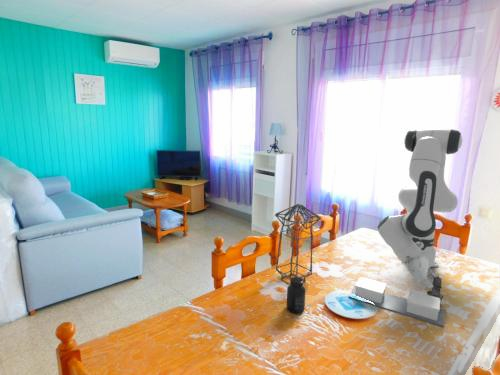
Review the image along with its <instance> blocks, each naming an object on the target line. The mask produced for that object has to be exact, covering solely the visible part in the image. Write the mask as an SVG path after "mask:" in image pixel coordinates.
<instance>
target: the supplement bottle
mask: <svg viewBox="0 0 500 375" xmlns="http://www.w3.org/2000/svg"><path fill="white" fill-rule="evenodd" d="M299 277H300V276H299ZM299 277H296V276H293V277H291V279H290V278H289V279H290V281H289V284H288V286H287V289H286V310H287V311H288V312H289V313H290V314H293V315H294V314H295V315H298V314H299V315H300V314H302V313H303V312H305V310H306V308H305V307H306V291H307V290H306V287H305V285H304V282H303V281H304V280H303V279H304V278H303V277H301V278H299ZM302 278H303V279H302Z"/></svg>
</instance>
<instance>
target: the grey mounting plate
mask: <svg viewBox="0 0 500 375" xmlns="http://www.w3.org/2000/svg"><path fill="white" fill-rule="evenodd" d="M352 288H353V289H352V290H351V292H350V293H352V294H355V295H356V296H359V297H361V298H364V299H366V300H369V301H371V302H373V303H374V304H375V305H376V306H375V307H378V308H381V309H384V310H388V311H389V312H393V313H396V314H400V315H402V316H406V317H410V318H413V319H416V320H419V321H422V322H426V323H430V324H432V325H435V326H438V327H442V328H444V318H445V316H444V315H445V309H443V308H441V306H440V303H441V302H440V298H437V297H433V296H430V295H427V293H426V294H425V293H423V292H418V291H414V290H412V289H411V290H409V293H408V296H407V298H406V297H402V296H400V295H399V296H398V295H395V294H391V293H388V292H386V288H387V282H381V281H377V280H375V279H370V278H366V277H363V276H360V277H359V278H358V280H357V282H356V283H355V286H354V287H352Z"/></svg>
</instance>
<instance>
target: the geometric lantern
mask: <svg viewBox="0 0 500 375" xmlns="http://www.w3.org/2000/svg"><path fill="white" fill-rule="evenodd" d="M295 214H296V218H295V221H294V220H291V219H292V218H293V217H294V215H295ZM299 214H300V217H301V218H303V220H300V222H298V221H299ZM311 214H312V215H311ZM287 216H288V218H287ZM274 217H276V219H277V220H278V221H279V222H280V223H281V225H282V226H281V229H280V232H279V240H278V249H277V257H276V265H275V271H277V272H278V274H279V275H280V276H281V277H280V280H281V281H282V282H284V283H285V284H287V285H290V282H287V281H286V280H284V279H287V280H290V279H291V278H292V276H294V277H299V278H302V279H303V283H305V282H306V278H307V277H310V276H311V275H312V274H313V241H314V234H313V226H314V225H315V224H317V223H318V222H319V221H321V220H322V219H323V218H322V217H321V216H320V215H319V214H316V213H315V212H314V211H312V210H311V209H309V208H308V207H306V206H304V204H300V203H296V204H295V205H292V206H291V207H288V208H286V209H283V210H281V211H278V212H276V213H275V214H274ZM305 217H306V218H305ZM315 218H316V219H315ZM308 220H309V221H308ZM288 222H289V224H288ZM285 223H286V224H285ZM296 224H299V225H301V226H300V227H299V228H296V227H295V225H296ZM308 225H309V226H308ZM291 226H292V227H293V228H291ZM284 227H287V228H288V229H286V230H284ZM302 227H303V229H302ZM308 229H309V230H310V231H309V232H308V231H305V230H308ZM292 231H294V232H292ZM296 231H298V232H297V236H296ZM285 232H290V234H291V236H289V235H288V234H285ZM302 232H304V233H306V234H309V236H306V237H300V235H301V234H302ZM283 235H284V236H286V237H288V238H290V239H292V246H291V247H292V248H291V255H290V256H291V257H290V262H289V263H286V264H282V265H280V266H279V258H280V251H281V244H282V238H283ZM308 238H310V264H309V265H310V267H309V268H307V267H305V266H303V265H301V264H300V263H299V245H300V244H299V243H300V240H304V239H308ZM296 240H297V241H296ZM295 241H296V260H295V262H293V260H294V259H293V258H294V247H295ZM288 265H290V268H289V270H287V272H282V271H281V270H279V269H278V268H282V267H286V266H288ZM293 265H295V266H294V268H293ZM299 267H301V268H303V269H305V270H307V271H308V272H307V273H306V274H302V273H300V272H298V269H299ZM292 268H293V269H292ZM288 273H289V274H288ZM298 275H301V276H298Z"/></svg>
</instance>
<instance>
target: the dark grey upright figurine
mask: <svg viewBox="0 0 500 375" xmlns="http://www.w3.org/2000/svg"><path fill="white" fill-rule="evenodd" d="M442 282H443V279H442V278H441V277H440V275H439V274H438V275H436V276H435V277H434V278H432V283H433V285H434V286H433V287H432V288H430V290H428V291H427V292H426V295H430V296H433V297H437V298H440V307H441V306H442V303H441V302H442V300H443V299H444V295H443V294H442V293H441V289H442V288H443V287H442Z"/></svg>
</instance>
